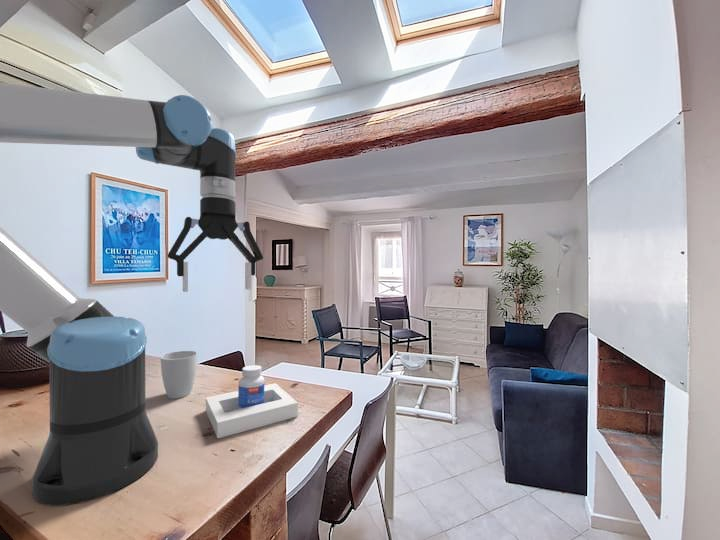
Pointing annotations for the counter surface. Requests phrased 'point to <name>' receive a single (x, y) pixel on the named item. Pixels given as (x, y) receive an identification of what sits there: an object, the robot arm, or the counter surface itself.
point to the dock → (249, 411)
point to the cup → (178, 372)
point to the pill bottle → (251, 387)
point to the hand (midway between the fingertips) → (218, 290)
